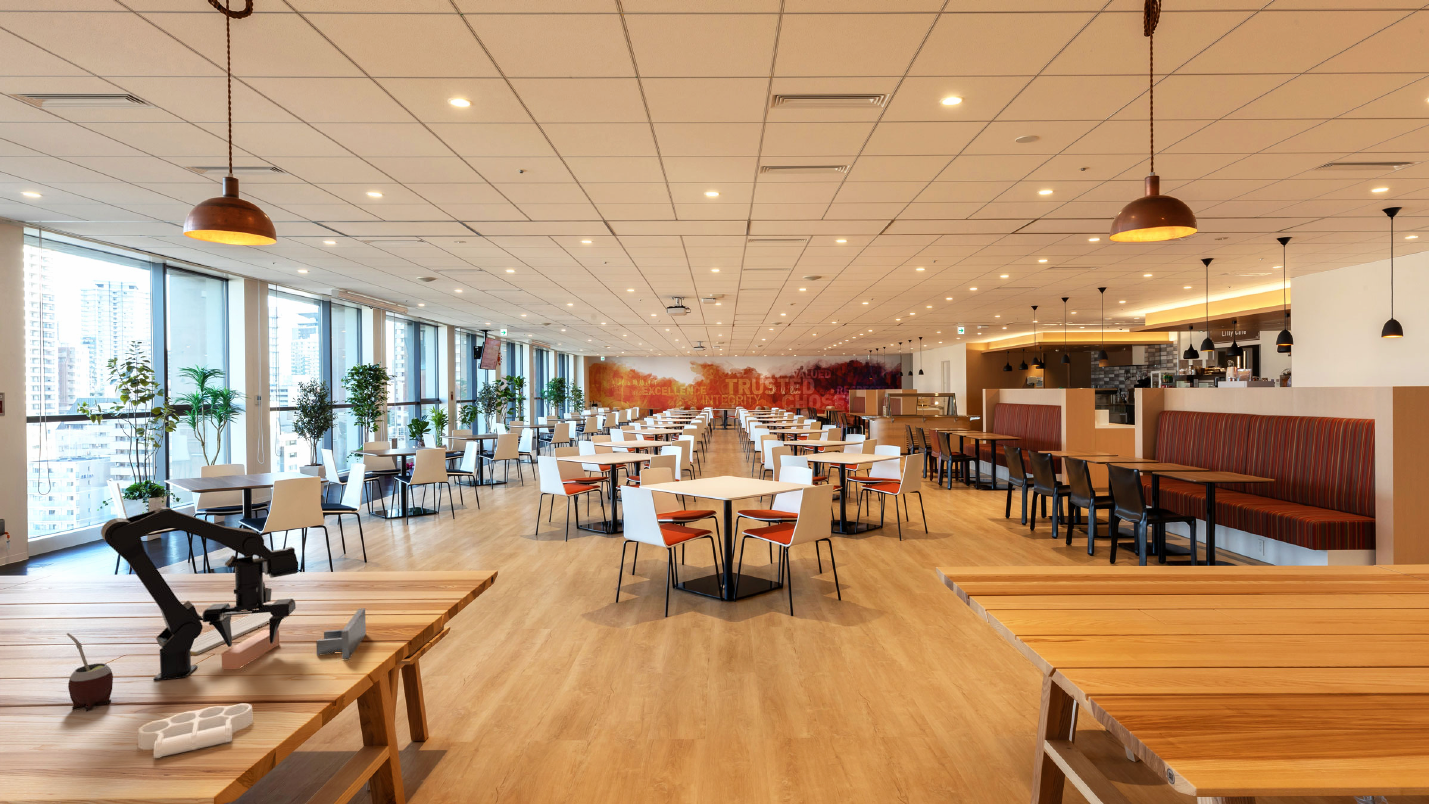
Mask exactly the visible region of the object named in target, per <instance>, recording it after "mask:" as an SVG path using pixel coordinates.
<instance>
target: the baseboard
mask: <svg viewBox="0 0 1429 804" xmlns="http://www.w3.org/2000/svg"><path fill="white" fill-rule="evenodd" d="M254 610H257V609H254ZM271 617H272V615H271V614H270V612H267V613H254V614H247V615H246V616H244V617H242V618H241V617H240V618H239V619H235V620H234V621H232V622H230V625H231V634H232V640H234V639H236V638H238V637H241V636H243V634H244V635H246V634H248V633H250V631H251V632H253V631H255V630H257V629H259V628H258V627H260V628H262V627H264V626H266V625H265V624H267V623H269V619H270V618H271ZM267 625H268V624H267ZM261 626H262V627H261ZM252 630H253V631H252ZM245 633H246V634H245ZM222 644H226V642H225V641H224V639H223V638H222V636H221V634H220V633H219V632H218V631H217V629H216V628H214V629H212V630H209V631H207V632H204V633H202V634H200V635H199V636H198V637H197V638H196V639H194V642H193V645H192V647H191V649H190V653H191V656H198V655H200V654H203V653H205V652H207V651H209V650H211V649H213V648H216V647H218V646H221V645H222Z"/></svg>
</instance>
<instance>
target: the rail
mask: <svg viewBox="0 0 1429 804" xmlns="http://www.w3.org/2000/svg"><path fill="white" fill-rule="evenodd" d="M279 645H280V629H278V630H277V633H276V636H275V639H274V642H273V643H270V638H269V629H263V630H261V631H259V632H258V633H256V634H253V635H252V636H250V637H249V638H247V639H246V638H245V640H243V641H241V642H240V643H237V644H235V645H234V646H231V648H230V647H229V649H227V650H225V651H224V652H221V669H222V670H237V669H236V668H240V667H241V666H243V665H245V664H246V665H248V664H249V663H251V662H252V660H253V661H255V658H256V659H258V658H259V657H261V656H262V655H264V654H265V652H266V653H267V652H269V651H270V650H272V649H274V648H276V647H277V646H279ZM260 655H261V656H260ZM257 657H258V658H257ZM250 661H251V662H250ZM248 662H249V663H248ZM247 663H248V664H247ZM246 665H245V666H246ZM243 667H244V666H243ZM241 668H242V667H241ZM241 668H240V669H241Z"/></svg>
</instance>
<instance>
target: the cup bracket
mask: <svg viewBox="0 0 1429 804" xmlns="http://www.w3.org/2000/svg"><path fill="white" fill-rule="evenodd" d="M366 630H367V628H366V608H363V607H362V608H358V609H357V611H356V612H355V614H354V615H353V616H352V617H351V618H350V620H349V621H348V623H346V625H345V626H344V627H343V629H342V628H341V629H331V630H330V629H329V630H324V631H323V639H320V638H319V639H317V640H316V643H315V645H316V646H315V647H316V656H321V655H320V654H324V655H332V654H331V653H335V652H342V653H341V659H349V658H350V659H351V657H352V656H353V655H354V653H355V652H356V650H357V648H358V647H359V645H360V644H361V643H362V641H363V639H364V638H365V636H366V633H367V631H366ZM353 652H354V653H353ZM335 654H336V653H335ZM351 655H352V656H351ZM350 659H349V660H350Z"/></svg>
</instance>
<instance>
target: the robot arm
mask: <svg viewBox="0 0 1429 804" xmlns="http://www.w3.org/2000/svg"><path fill="white" fill-rule="evenodd" d="M101 527H102V528H101V530H100V535H101V537H102V539H103V540H104V541H105V542H106V543H107V545H108V546H109V547H111V548H112V549H113V550H114V551H115V552H116V553H117V554H118V555H119V556H120V557H122V558H123V560H125V562H127V563H128V565H129V566H130V568H131V569H132V570H133V572H134V573H135V574H136V576H137V578H138V579H139V581H140V582H141V583H142V585H143V586H144V588H145V589H146V591H147V592H148V593H149V594H150V596H151V598H152V599H153V601H154V602H155V603H156V605H157V606H158V607H159V609H160V613H161V616H162V618H163V621H164V623H165V626H166V627H165V628H164V629H163V630H162V631H161V632H160V633H159V634H158V635H157V636H156V638H155V640H156V642H157V644H158V645H159V646H160V647H161V648H160V649H159V667H160V668H159V669H160V672H159V673H158V674H157V675H155V676H154V677H153V681H159V680H171V679H173V680H174V679H181V678H182V679H183V678H186V677H187V676H189V675H190V674H191V673H192V672H193V671H194V670H196V669H197V668H198V664H191V662H192V659H191V658H192V657H191V656H192V655H191V653H190V649H191V647H192V645H193V642H194V639H196V638H197V637H198V636H199V635H201V633H202V630H203V628H204V626H203V623H208V625H209V626H213V627H214V629H217V631H218V632H219V633H220V634H221V636H222V638H223V639H224V641H225V644H226V645H227V647H228V648H230V647H231V648H232V647H233V645H232V644H233V639H232V634H231V625H230V623H231V621H232V616H238V615H250V614H254V613H267V612H270V614H271V615H272V617H271V618H270V619H269V624H268V625H269V626H268V627H269V629H268V630H269V638H270V643H273V642H274V639H275V636H276V633H277V630H279V627H280V625H281V622H282V620H284V619H285V618H286V617H287V616H289V615H291V614H292V613H293V612H294V611H295V610H297V609H296V608H297V607H296V601H295V600H294V599H293V598H283V599H277V600H275V601H274V602H273V603H272V604H271V603H270V604H267V603H269V602H271V600H272V599H271V598H272V588H269V587H266V583H265V581H264V576H263V575H265V576H266V575H269V578H270V579H273V578H278V577H279V578H280V577H284V576H290V575H297V573H298V571H299V561H298V558H297V554H296V552H295V551H296V549H295V548H294V547H293V546H289V547H285V548H282V549H275V550H274V549H273V550H271V549H270V548H268V547H267V546H265V539H264V538H263V537H264V536H262V534H259V533H258V532H256V531H254V530H252V529H249V528H240V527H234V526H226V525H225V526H224V525H220V524H217V523H213V522H211V521H208V520H205V519H202V518H199V517H195V516H192V515H189V514H186V513H183V512H180V511H176V510H174V509H172V508H170V507H167V506H161V507H159V508H156V509H153V510H151V511H147V512H144V513H139V514H135V515H132V516H130V517H127V518H122V517H116V518H112V519H110V520H108V521H107V522H105V523H104V525H102V526H101ZM165 527H169V528H172V529H174V530H177V531H181V532H184V533H188V534H191V535H194V536H197V537H201V538H204V539H207V540H211V541H214V542H216V543H219V544H221V545H223V546H225V547H226V548H229V549H230V550H233V551H234V552H236V553H239V554H241V555H242V556H243V557H236V556H235V555H231V557H230V558H228V560H226V562H224V565H225V566H226V567H227V568H229V569H230V568H234V580H235V582H234V584H235V588H234V589H233V595H235V605H234V606H231V605H230V603H229V602H227V603H213V604H212V605H210V606H209V607H207V608H206V609H205V610H204V611H203V612H202V614H201V615H200V614H199V613H198V612H197V610H196V607H195V605H194V604H193V603H192V602H190V600H187V601H186V602H184V603H183V602H181V601H180V600H179V599H178V597H177V596H176V595H175V593H174V591H173V589H172V588H170V586H169V585H168V583H167V582H166V580H165V578H164V577H163V575H162V574H161V573H160V571H159V570H158V568H157V567H156V566H155V564H154V562H153V561H152V559H151V558H150V557H149V555H148V554H147V552H146V549H145V545H144V544H143V543H144V542H143V540H142V537H144V536H147V535H149V534H152V533H154V532H156V531H159V530H160V529H162V528H165ZM253 556H257V558H253ZM263 573H264V574H263ZM255 609H256V610H255ZM202 622H203V623H202Z"/></svg>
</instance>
